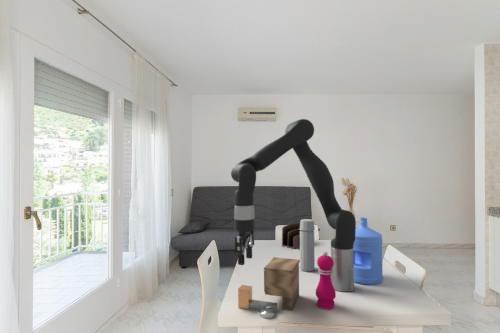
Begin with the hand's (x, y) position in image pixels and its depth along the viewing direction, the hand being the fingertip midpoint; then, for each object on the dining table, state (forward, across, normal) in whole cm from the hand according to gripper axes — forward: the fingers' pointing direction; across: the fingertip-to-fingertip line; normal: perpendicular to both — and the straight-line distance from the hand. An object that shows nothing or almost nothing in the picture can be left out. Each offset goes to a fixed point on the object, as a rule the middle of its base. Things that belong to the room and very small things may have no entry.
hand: (245, 261), depth 114 cm
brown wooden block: (+17, +9, -12) cm, 22 cm away
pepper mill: (+17, +10, -28) cm, 34 cm away
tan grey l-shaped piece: (+17, 0, -4) cm, 17 cm away
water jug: (+18, +44, -42) cm, 63 cm away
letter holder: (+18, +98, 0) cm, 100 cm away
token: (+17, -4, -9) cm, 20 cm away
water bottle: (+18, +50, -15) cm, 55 cm away
